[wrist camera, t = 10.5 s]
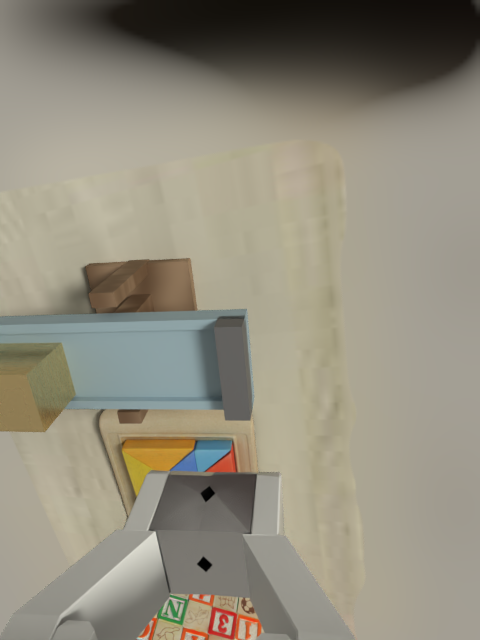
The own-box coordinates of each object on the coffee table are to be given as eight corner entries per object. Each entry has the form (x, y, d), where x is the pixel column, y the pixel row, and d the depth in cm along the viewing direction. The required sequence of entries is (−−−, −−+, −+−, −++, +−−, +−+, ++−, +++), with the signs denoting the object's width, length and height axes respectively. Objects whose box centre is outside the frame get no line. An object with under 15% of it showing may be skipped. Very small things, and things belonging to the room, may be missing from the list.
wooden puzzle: (132, 522, 57) (122, 545, 53) (102, 402, 49) (89, 421, 46) (264, 526, 54) (262, 551, 51) (253, 402, 47) (251, 422, 44)
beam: (246, 309, 33) (241, 326, 30) (254, 397, 36) (250, 420, 33) (-12, 316, 36) (-40, 333, 33) (15, 396, 39) (-7, 418, 36)
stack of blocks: (309, 583, 57) (313, 694, 46) (295, 611, 60) (296, 722, 48) (154, 541, 57) (121, 641, 46) (147, 570, 60) (114, 672, 48)
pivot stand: (190, 257, 40) (163, 290, 32) (205, 370, 45) (186, 423, 37) (89, 262, 42) (39, 295, 33) (114, 371, 46) (76, 423, 38)
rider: (61, 342, 35) (26, 374, 30) (76, 394, 37) (44, 431, 32) (-6, 343, 36) (-50, 374, 31) (12, 394, 38) (-27, 430, 33)
